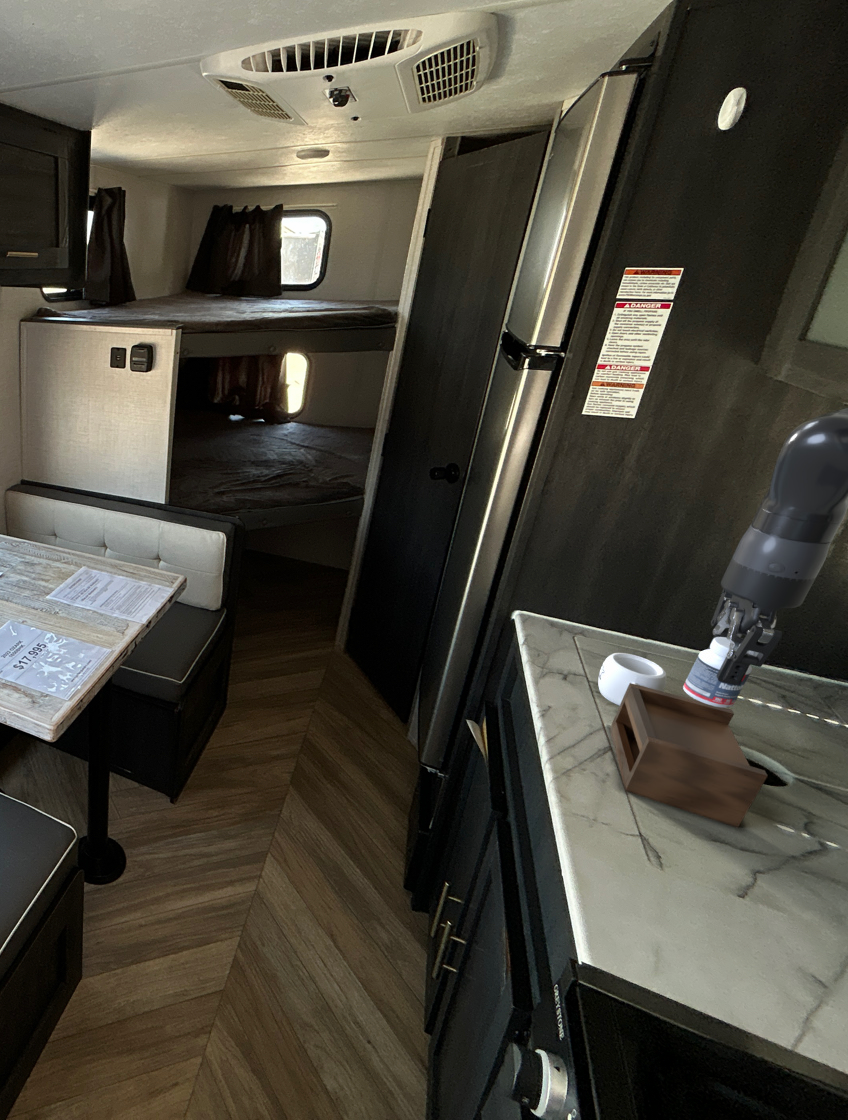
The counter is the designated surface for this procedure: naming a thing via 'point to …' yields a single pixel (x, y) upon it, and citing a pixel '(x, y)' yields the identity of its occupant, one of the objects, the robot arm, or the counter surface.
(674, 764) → the box
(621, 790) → the counter surface
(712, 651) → the pill bottle
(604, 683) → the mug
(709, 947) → the counter surface
